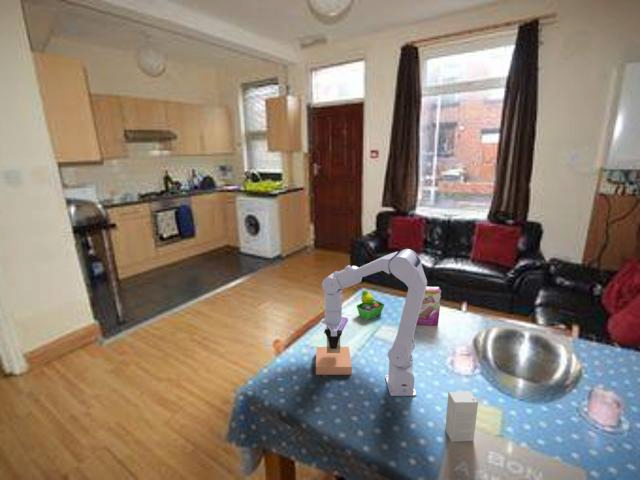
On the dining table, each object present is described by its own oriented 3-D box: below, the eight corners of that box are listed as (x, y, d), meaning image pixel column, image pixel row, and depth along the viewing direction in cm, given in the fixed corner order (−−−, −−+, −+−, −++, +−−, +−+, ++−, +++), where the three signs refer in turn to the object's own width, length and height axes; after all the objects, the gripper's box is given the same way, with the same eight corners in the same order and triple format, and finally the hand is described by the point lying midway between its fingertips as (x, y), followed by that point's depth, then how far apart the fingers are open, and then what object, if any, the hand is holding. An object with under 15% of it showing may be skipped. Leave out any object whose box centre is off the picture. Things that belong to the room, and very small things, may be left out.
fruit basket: (366, 322, 147) (367, 298, 144) (353, 314, 154) (353, 291, 151) (384, 314, 153) (385, 292, 150) (371, 307, 160) (372, 286, 157)
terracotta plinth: (351, 374, 112) (351, 366, 111) (315, 374, 112) (315, 366, 111) (348, 353, 124) (348, 346, 123) (316, 353, 124) (316, 346, 123)
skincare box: (466, 428, 90) (471, 390, 87) (473, 441, 86) (479, 402, 83) (444, 429, 90) (448, 391, 87) (450, 442, 85) (455, 403, 82)
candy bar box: (412, 325, 144) (414, 289, 140) (410, 319, 149) (412, 285, 144) (438, 326, 143) (442, 290, 139) (436, 320, 148) (439, 286, 143)
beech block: (340, 352, 114) (340, 337, 113) (327, 352, 114) (327, 337, 113) (339, 345, 118) (339, 330, 117) (326, 345, 118) (326, 330, 117)
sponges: (348, 321, 148) (348, 317, 148) (340, 335, 137) (340, 331, 136) (333, 319, 151) (333, 315, 150) (324, 332, 139) (324, 328, 139)
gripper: (321, 299, 119) (321, 333, 123) (321, 318, 105) (321, 356, 109) (341, 299, 119) (340, 333, 123) (343, 318, 105) (343, 356, 109)
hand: (333, 344), depth 116 cm, fingers closed on beech block, 4 cm apart
